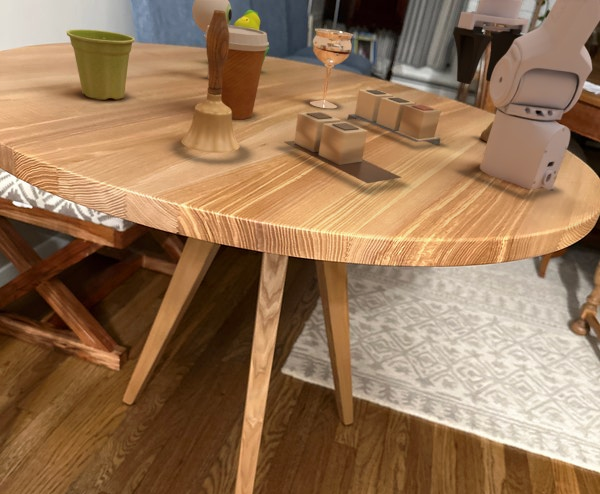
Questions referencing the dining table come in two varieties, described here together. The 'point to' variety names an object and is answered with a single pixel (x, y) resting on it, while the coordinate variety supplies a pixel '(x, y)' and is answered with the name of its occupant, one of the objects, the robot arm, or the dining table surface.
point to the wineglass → (330, 55)
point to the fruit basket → (250, 22)
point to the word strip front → (337, 145)
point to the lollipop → (209, 12)
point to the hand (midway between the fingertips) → (478, 82)
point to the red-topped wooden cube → (419, 121)
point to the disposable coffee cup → (242, 69)
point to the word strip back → (384, 112)
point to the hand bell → (214, 97)
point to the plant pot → (101, 62)
